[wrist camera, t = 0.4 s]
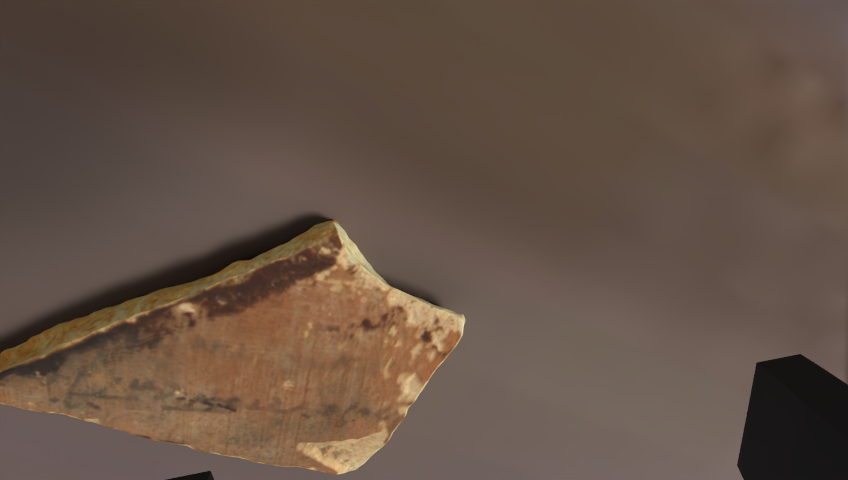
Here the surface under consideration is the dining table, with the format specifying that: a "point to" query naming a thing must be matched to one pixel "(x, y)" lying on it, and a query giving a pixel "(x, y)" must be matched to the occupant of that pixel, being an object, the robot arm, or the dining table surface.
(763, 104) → the dining table surface
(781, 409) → the robot arm
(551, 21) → the dining table surface
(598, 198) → the dining table surface
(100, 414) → the shard
